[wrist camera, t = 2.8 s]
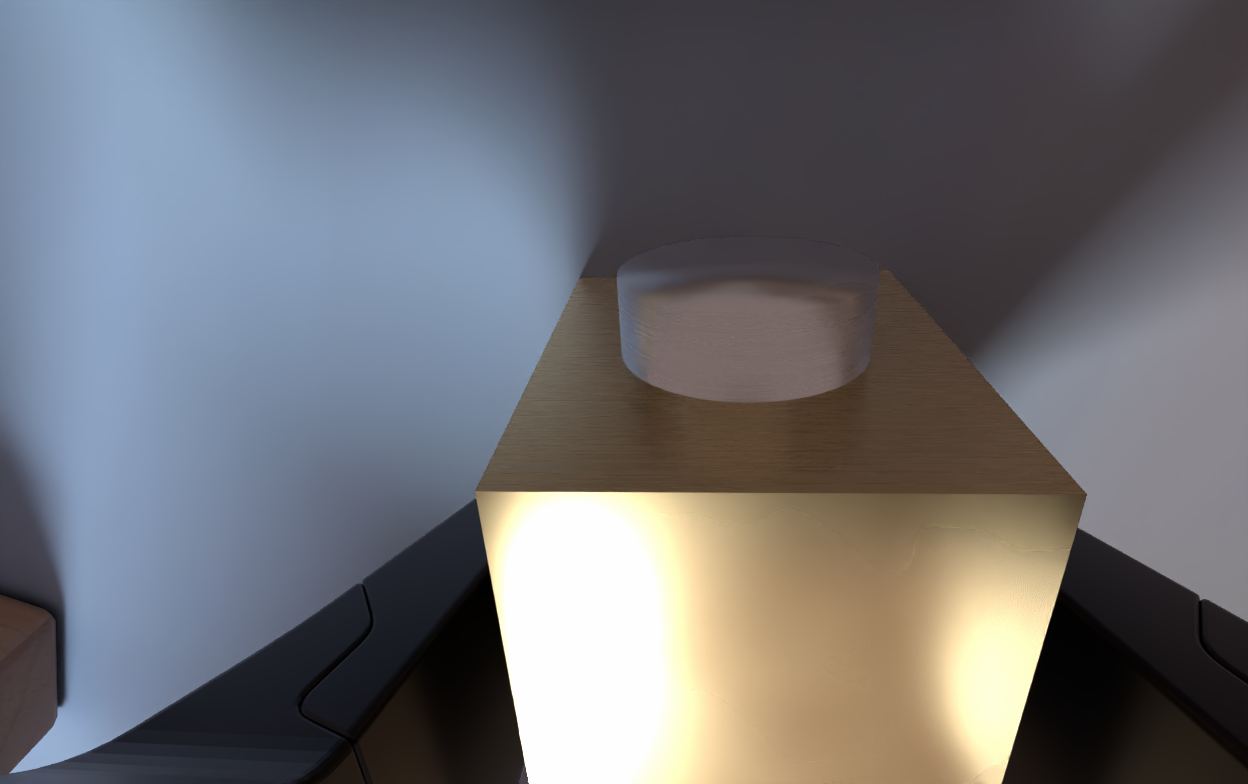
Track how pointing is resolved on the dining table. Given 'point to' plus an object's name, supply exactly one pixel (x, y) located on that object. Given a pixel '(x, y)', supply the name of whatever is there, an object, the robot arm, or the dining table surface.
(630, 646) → the block
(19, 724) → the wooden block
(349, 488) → the dining table surface
